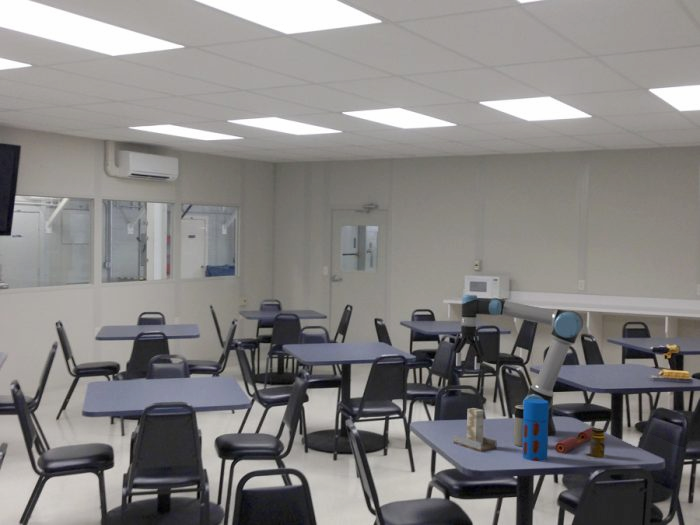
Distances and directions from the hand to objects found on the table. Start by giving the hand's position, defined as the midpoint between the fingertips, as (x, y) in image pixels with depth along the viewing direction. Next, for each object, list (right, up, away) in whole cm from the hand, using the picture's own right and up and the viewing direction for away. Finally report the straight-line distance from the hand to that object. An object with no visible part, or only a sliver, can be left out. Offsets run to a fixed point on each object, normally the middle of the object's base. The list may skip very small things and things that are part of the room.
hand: (467, 367), depth 390 cm
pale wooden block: (-2, -31, -31) cm, 44 cm away
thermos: (+22, -33, -49) cm, 63 cm away
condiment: (+50, -34, -44) cm, 75 cm away
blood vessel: (+48, -34, -23) cm, 64 cm away
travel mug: (+22, -33, -27) cm, 48 cm away
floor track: (-2, -32, -31) cm, 45 cm away
